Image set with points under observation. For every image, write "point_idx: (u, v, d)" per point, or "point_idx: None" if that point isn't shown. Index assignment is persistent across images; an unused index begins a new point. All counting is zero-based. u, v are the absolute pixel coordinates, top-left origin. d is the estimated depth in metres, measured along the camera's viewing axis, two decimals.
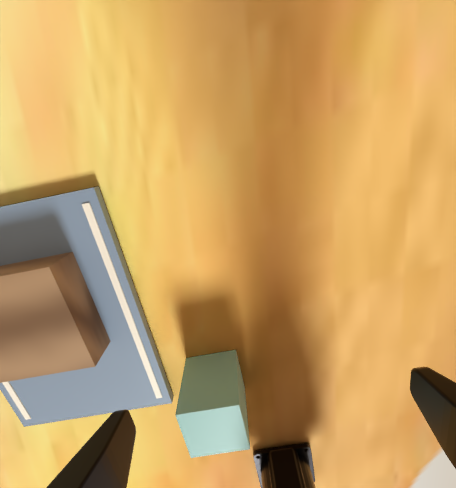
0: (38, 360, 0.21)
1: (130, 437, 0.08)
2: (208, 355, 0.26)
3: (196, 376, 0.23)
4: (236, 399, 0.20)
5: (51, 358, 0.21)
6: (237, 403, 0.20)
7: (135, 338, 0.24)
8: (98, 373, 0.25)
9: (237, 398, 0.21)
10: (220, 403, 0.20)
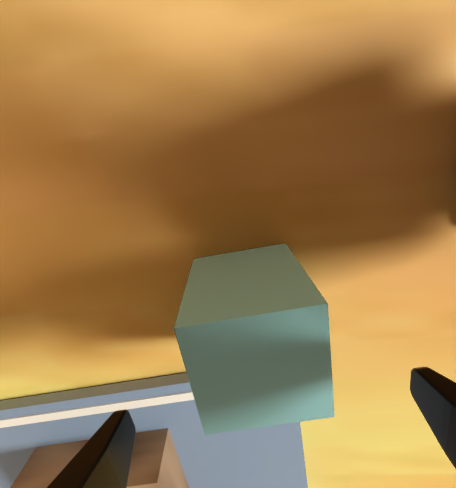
0: None
1: (130, 437, 0.08)
2: None
3: None
4: None
5: None
6: None
7: (160, 401, 0.16)
8: (225, 446, 0.18)
9: None
10: None
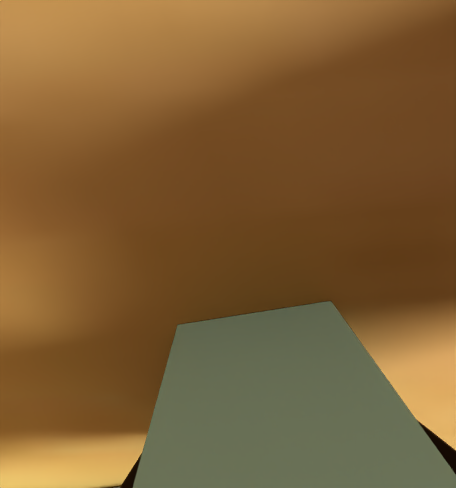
0: None
1: None
2: None
3: None
4: None
5: None
6: None
7: None
8: None
9: None
10: None
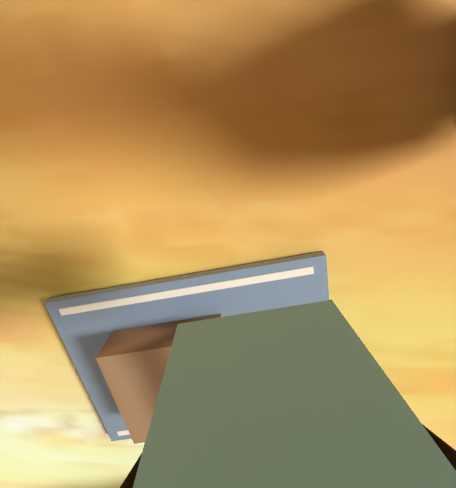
0: None
1: None
2: None
3: None
4: None
5: None
6: None
7: (216, 288, 0.20)
8: None
9: None
10: None
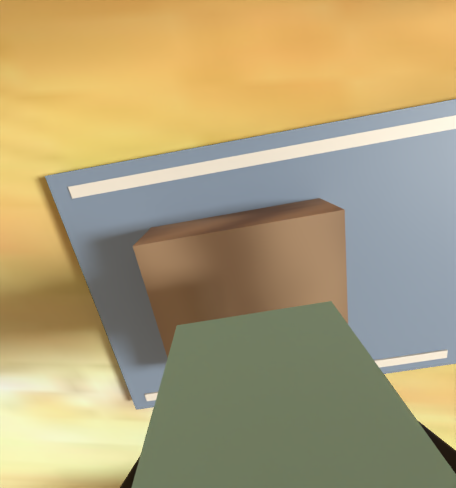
0: (314, 303, 0.12)
1: None
2: None
3: None
4: None
5: (313, 281, 0.12)
6: None
7: (319, 151, 0.13)
8: (383, 231, 0.14)
9: None
10: None
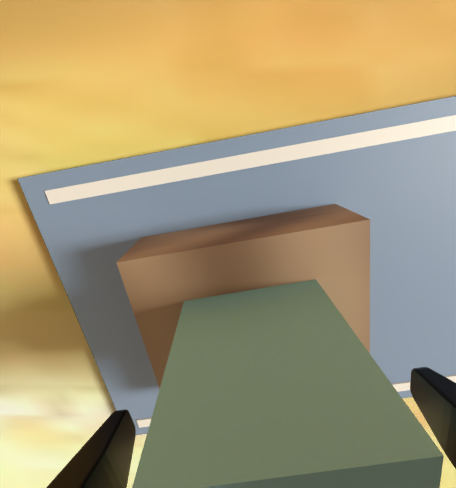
0: None
1: (130, 437, 0.08)
2: None
3: None
4: None
5: None
6: None
7: (335, 149, 0.11)
8: (407, 241, 0.12)
9: (142, 461, 0.05)
10: None
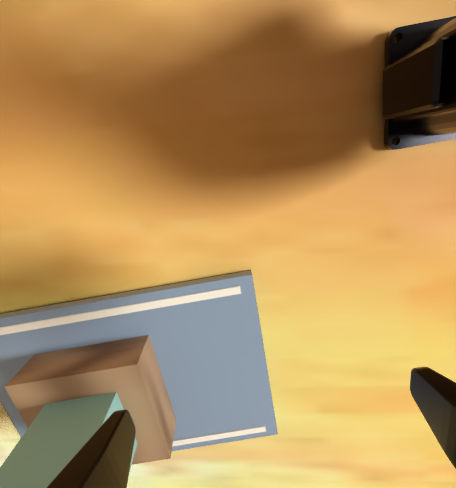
0: (133, 415, 0.19)
1: (130, 437, 0.08)
2: None
3: None
4: None
5: (128, 403, 0.18)
6: None
7: (141, 308, 0.19)
8: (198, 353, 0.21)
9: None
10: None
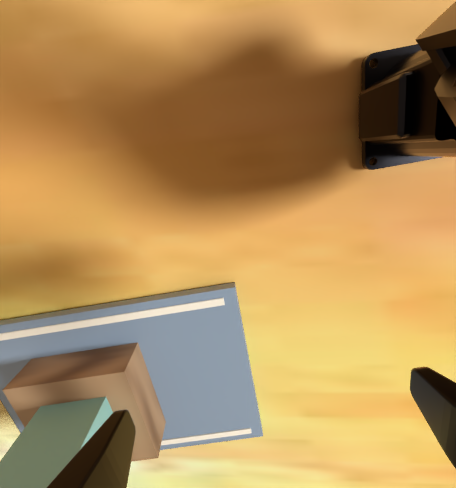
0: None
1: (130, 437, 0.08)
2: None
3: None
4: None
5: (117, 406, 0.19)
6: None
7: (130, 318, 0.20)
8: (185, 360, 0.22)
9: None
10: None
